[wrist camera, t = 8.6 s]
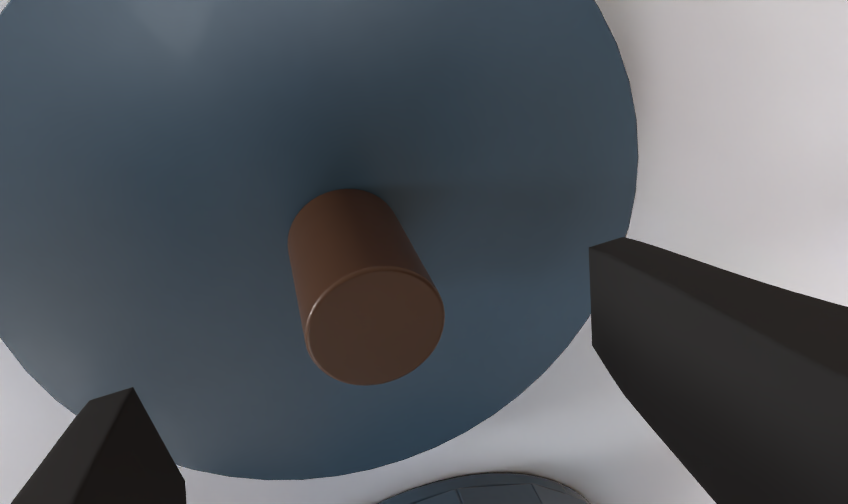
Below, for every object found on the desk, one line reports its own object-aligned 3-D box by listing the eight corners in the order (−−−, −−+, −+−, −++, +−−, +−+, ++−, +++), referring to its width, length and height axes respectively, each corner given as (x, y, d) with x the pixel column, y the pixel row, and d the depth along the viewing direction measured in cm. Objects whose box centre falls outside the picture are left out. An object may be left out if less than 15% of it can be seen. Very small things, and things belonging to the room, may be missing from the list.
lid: (412, 496, 19) (458, 640, 15) (-135, 349, 13) (-288, 536, 9) (718, 112, 16) (875, 176, 12) (176, -370, 9) (141, -575, 5)
